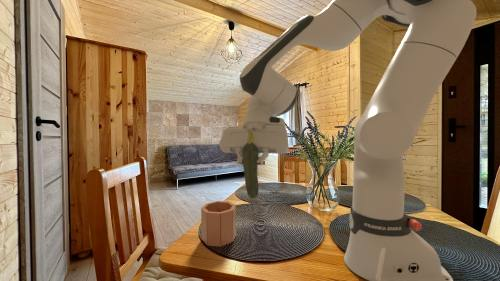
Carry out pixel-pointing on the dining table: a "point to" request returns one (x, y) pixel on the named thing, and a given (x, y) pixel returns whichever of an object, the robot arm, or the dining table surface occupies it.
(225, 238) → the crock
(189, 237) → the dining table surface
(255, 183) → the vegetable
